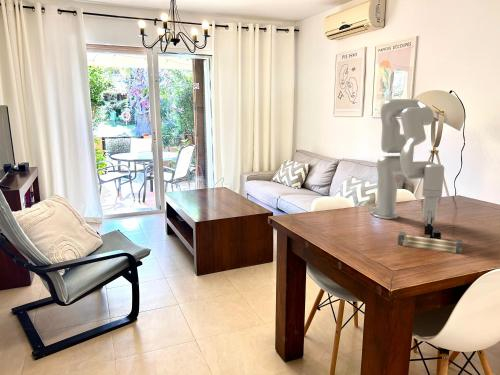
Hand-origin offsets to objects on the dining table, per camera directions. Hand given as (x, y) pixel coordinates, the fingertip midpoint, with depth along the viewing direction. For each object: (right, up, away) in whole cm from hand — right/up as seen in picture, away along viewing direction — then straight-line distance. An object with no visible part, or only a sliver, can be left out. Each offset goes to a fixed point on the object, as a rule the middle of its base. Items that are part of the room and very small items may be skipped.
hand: (428, 234), depth 163 cm
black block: (+1, -3, -4) cm, 5 cm away
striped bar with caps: (-5, -4, -11) cm, 13 cm away
